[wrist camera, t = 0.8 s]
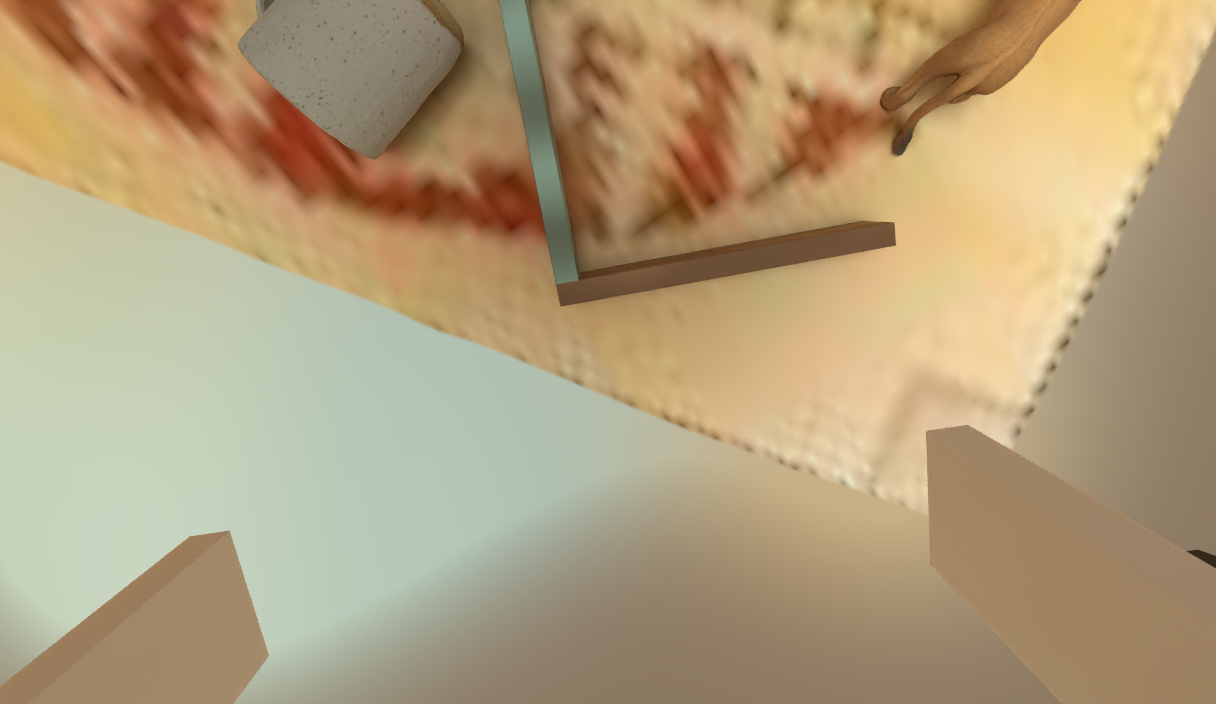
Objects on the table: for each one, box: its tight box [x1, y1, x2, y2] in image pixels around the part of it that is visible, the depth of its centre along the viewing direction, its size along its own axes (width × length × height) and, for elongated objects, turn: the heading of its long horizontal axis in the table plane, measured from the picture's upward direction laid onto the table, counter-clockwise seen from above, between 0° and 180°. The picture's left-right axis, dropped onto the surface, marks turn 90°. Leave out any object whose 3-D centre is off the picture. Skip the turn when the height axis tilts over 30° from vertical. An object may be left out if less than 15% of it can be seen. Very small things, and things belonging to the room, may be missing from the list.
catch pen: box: [499, 0, 896, 306], centre depth 32 cm, size 20×18×4 cm
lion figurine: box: [881, 0, 1081, 156], centre depth 29 cm, size 15×5×9 cm, turn 152°
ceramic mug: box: [238, 0, 464, 159], centre depth 30 cm, size 11×8×8 cm
